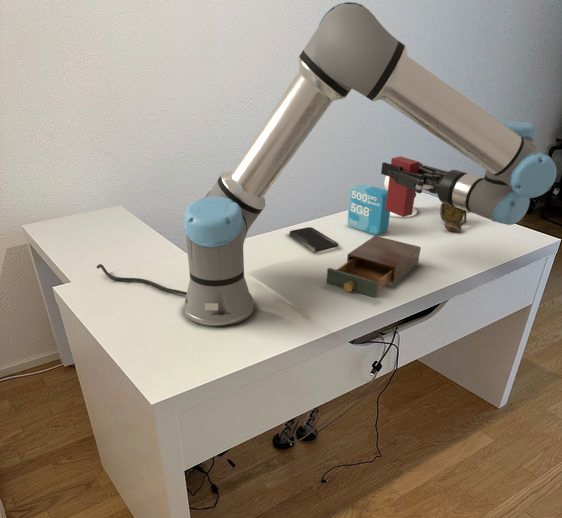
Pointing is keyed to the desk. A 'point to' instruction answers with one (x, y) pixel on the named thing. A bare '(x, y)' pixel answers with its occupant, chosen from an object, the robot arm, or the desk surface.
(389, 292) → the desk surface
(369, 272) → the drawer
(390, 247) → the box
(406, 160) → the card box
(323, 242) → the phone
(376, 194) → the data package
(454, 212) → the vintage travel clock
